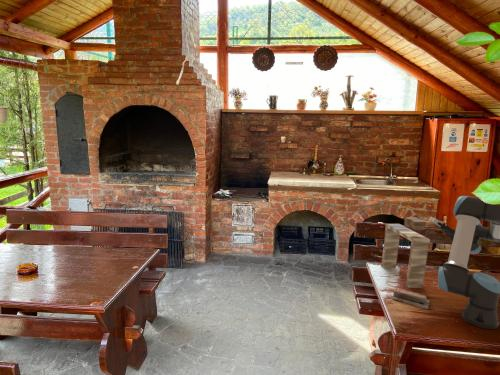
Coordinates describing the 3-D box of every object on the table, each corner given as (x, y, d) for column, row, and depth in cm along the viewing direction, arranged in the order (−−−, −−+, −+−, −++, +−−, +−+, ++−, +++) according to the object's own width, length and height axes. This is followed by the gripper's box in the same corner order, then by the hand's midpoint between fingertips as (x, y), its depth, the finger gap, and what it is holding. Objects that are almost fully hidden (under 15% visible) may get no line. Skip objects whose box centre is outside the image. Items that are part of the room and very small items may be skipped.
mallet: (448, 230, 205) (449, 222, 204) (413, 230, 202) (415, 221, 201) (436, 225, 215) (437, 217, 214) (404, 225, 212) (405, 217, 211)
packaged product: (392, 291, 190) (395, 285, 198) (391, 299, 191) (394, 292, 199) (429, 301, 181) (430, 294, 189) (427, 310, 182) (429, 302, 190)
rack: (423, 287, 207) (430, 239, 201) (407, 287, 205) (414, 239, 200) (394, 265, 238) (399, 223, 232) (380, 266, 236) (385, 223, 231)
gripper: (465, 247, 206) (436, 228, 201) (446, 238, 221) (420, 220, 216) (472, 236, 205) (444, 217, 200) (453, 229, 220) (427, 210, 215)
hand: (431, 219), depth 208 cm, fingers closed on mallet, 2 cm apart
